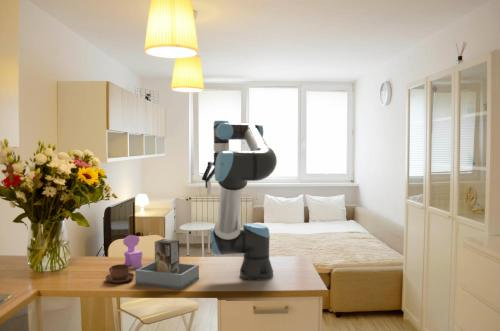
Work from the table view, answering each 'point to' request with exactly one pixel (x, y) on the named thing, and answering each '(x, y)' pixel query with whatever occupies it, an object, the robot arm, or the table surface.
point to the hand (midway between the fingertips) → (221, 195)
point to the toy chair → (132, 252)
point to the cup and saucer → (119, 274)
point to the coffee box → (167, 256)
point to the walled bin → (167, 276)
